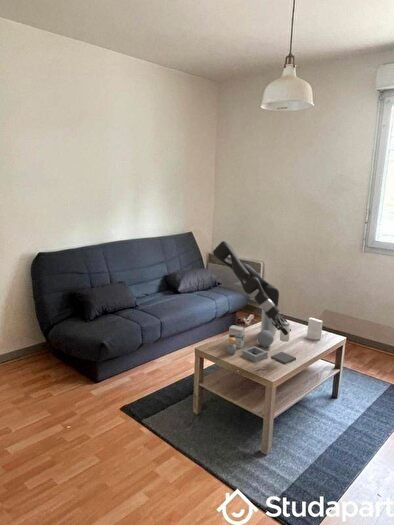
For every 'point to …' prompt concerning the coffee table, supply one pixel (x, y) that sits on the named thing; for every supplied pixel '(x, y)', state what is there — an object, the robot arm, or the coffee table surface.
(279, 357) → the rubber mat
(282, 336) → the cylinder
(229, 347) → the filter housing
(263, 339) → the decorative stone
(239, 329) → the ink box
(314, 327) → the white upright block
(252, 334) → the coffee table surface
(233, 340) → the plunger
